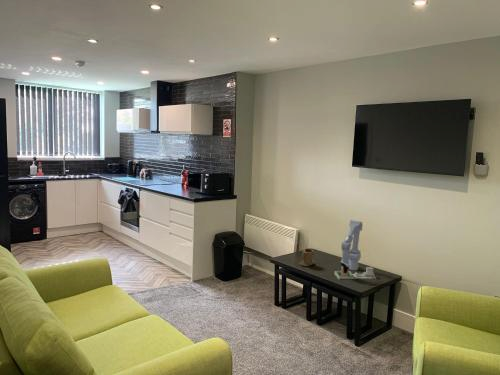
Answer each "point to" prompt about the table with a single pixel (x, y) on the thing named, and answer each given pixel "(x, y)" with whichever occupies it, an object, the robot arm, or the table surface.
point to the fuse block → (363, 275)
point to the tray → (344, 276)
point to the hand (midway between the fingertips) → (344, 272)
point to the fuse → (369, 271)
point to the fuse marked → (343, 272)
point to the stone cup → (307, 257)
